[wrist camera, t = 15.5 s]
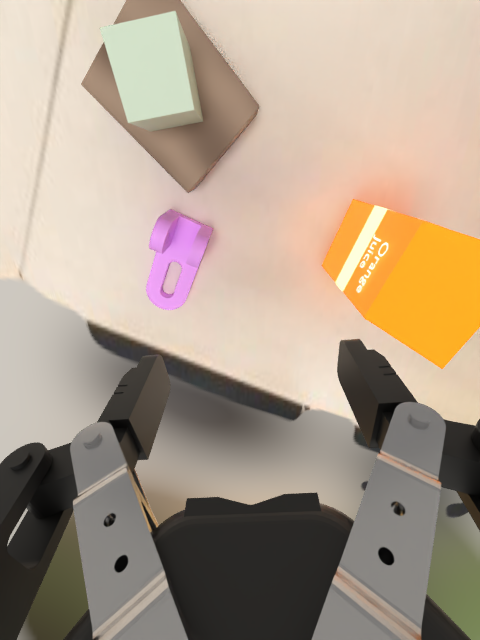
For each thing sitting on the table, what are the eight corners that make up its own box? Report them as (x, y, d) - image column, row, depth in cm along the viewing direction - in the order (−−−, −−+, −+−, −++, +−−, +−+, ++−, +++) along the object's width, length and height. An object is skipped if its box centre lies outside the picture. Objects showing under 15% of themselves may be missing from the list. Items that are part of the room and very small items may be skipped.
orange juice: (408, 217, 33) (592, 275, 16) (370, 281, 37) (483, 381, 20) (351, 197, 32) (484, 237, 15) (319, 265, 36) (393, 358, 19)
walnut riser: (165, -5, 24) (149, -41, 20) (256, 115, 28) (259, 106, 24) (105, 96, 27) (80, 84, 23) (194, 189, 32) (187, 192, 27)
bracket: (170, 209, 33) (155, 219, 27) (213, 228, 34) (207, 242, 28) (144, 296, 39) (127, 321, 33) (181, 310, 40) (171, 336, 34)
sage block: (189, 47, 22) (175, 10, 17) (203, 121, 24) (194, 109, 19) (131, 59, 22) (99, 27, 17) (150, 131, 25) (128, 122, 20)
